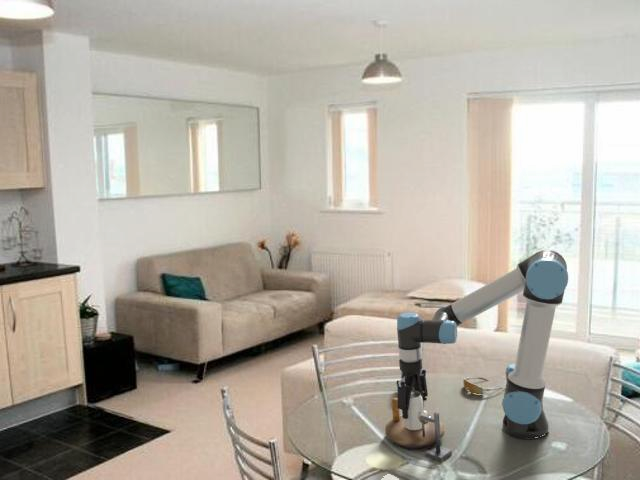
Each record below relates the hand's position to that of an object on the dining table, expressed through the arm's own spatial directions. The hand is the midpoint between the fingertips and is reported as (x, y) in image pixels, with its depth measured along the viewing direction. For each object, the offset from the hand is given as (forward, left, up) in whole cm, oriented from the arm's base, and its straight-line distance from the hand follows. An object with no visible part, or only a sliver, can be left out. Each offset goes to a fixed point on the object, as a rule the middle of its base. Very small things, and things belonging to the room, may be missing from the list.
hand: (414, 422), depth 222 cm
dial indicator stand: (-11, +5, -6) cm, 13 cm away
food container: (+25, -32, -6) cm, 41 cm away
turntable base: (0, 0, -6) cm, 6 cm away
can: (0, 0, -2) cm, 2 cm away
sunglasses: (+2, -49, -7) cm, 50 cm away
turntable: (0, 0, -4) cm, 4 cm away
